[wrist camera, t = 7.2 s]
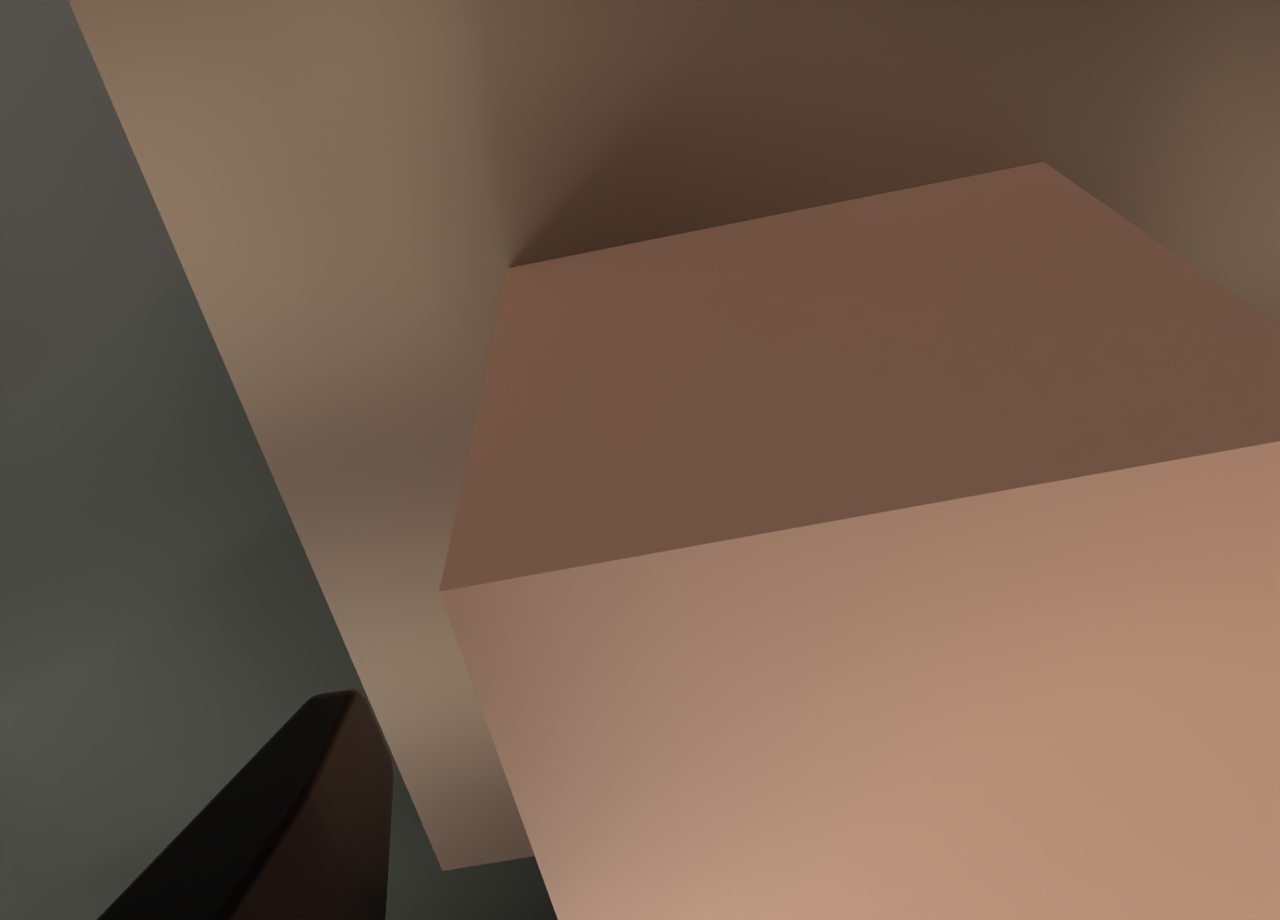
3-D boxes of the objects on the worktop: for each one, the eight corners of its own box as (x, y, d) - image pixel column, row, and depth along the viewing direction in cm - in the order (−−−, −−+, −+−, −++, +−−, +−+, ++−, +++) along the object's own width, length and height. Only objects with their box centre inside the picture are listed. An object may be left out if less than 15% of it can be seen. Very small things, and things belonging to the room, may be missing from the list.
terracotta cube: (1043, 592, 13) (1292, 1007, 9) (616, 667, 14) (624, 1103, 9) (1044, 161, 11) (1411, 418, 6) (508, 268, 11) (439, 592, 6)
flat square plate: (1247, 697, 15) (1277, 737, 15) (448, 827, 16) (442, 871, 15) (1378, -289, 9) (1441, -301, 9) (105, -10, 10) (69, 1, 9)
